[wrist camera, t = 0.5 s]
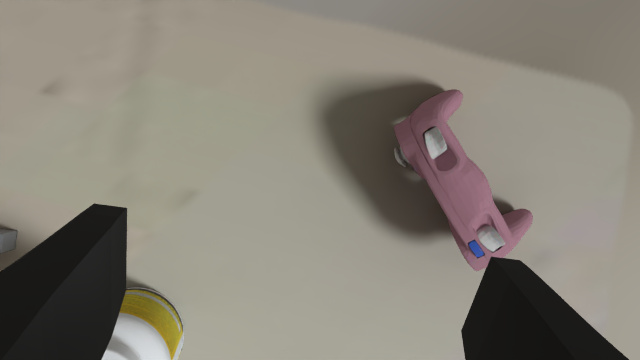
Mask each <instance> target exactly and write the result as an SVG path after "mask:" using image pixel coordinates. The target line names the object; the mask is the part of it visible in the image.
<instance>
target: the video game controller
mask: <svg viewBox="0 0 640 360" xmlns="http://www.w3.org/2000/svg"><path fill="white" fill-rule="evenodd" d="M462 98H463V94H462V93H461V92H460V91H459V90H448V91H444V92H442V93H440V94H438V95H435V96H433V97H431V98H429V99H428V100H426V101H424V102H423V103H422V104H421V105H420V106H419V107H418V108H416V109H415V110H414V111H413V112H412V113H411V114H410V115H409V116H408V117H407V118H406V119H405V120H404V121H402V122H400V123H399V124H397V125H395V126H394V131H395V135H396V137H397V139H398V142H399V144H400V150H399V149H398V148H395V149H394V150H395V151H394V153H395V158H396V160H397V162H398V163H399V164H401V165H403V166H404V167H406V166H407V163H406V161H407V162H408V163H410V164H411V166H412V167H413V168H414V169H415V171H416V172H417V173H418V175H419V176H420V177H421V178H423V179H426V181H427V183H428V185H429V187H430V188H431V190H432V192H433V194H434V195H435V197H436V199H437V201H438V202H439V204H440V206H441V208H442V209H443V211H444V213H445V214H446V216H447V217H448V223H449V226H450V229H451V231H452V234H453V236H454V239H455V241H456V243H457V245H458V247H459V249H460V251H461V253H462V254H463V256H464V258H465V259H466V261H467V262H468V263H469V265H470V266H471V267H472V268H473V269H474V270H475V271H478V270H481V269H483V268H486V267H487V265H488V263H489V260H490V258H491V257H498V258H503V257H504V256H506V255H507V254H508V253H509V252H510V251H511V250H512V249H513V248H514V247H515V245H516V244H517V243H518V242H519V241H520V239H521V238H522V237H523V235H524V234H525V233H526V232H527V230H528V229H529V227H530V226H531V224H532V218H533V216H532V213H531V212H530V211H528V210H526V209H518V210H514V211H512V212H509V213H506V214H503V215H501V213H500V212H499V210H498V208H497V207H496V205H495V203H494V201H493V198H492V192H491V189H490V186H489V183H488V180H487V179H486V177H485V175H484V173H483V172H482V171H481V170H480V169H479V167H478V166H477V165H476V164H475V163H474V162H473V161H471V160H470V159H469V158H468V157H467V155H466V154H465V152H464V150H463V148H462V147H461V145H460V143H459V141H458V140H457V138H456V136H455V135H454V133H453V132H452V131H451V129H450V128H449V126H448V125H447V123H446V122H447V120H448V119H449V117H450V116H451V115H452V114H453V113H454V112H455V111H456V110H457V109H458V108H459V106H460V105H461V102H462Z"/></svg>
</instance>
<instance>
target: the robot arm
mask: <svg viewBox="0 0 640 360" xmlns="http://www.w3.org/2000/svg"><path fill="white" fill-rule="evenodd" d="M126 249H127V208H123V207H115V206H108V205H100V204H93V205H92V206H90V207H89V208H87V209H86V210H85V211H83V212H82V213H80V214H79V215H78V216H76V217H75V218H74V219H73V220H71V221H70V222H69V223H67V224H66V225H65V226H63V227H62V228H61V229H59V230H58V231H57V232H55V233H54V234H53V235H51V236H50V237H49V238H47V239H46V240H45V241H43V242H42V243H41V244H39V245H38V246H36V247H35V248H34V249H32V250H31V251H29V252H28V253H27V254H25V255H24V256H22V257H21V258H20V259H18V260H17V261H15V262H14V263H13V264H11V265H10V266H8V267H7V268H5V269H4V270H2V271H1V272H0V360H102V358H103V355H104V353H105V351H106V349H107V346H108V344H109V342H110V340H111V337H112V334H113V331H114V328H115V325H116V322H117V319H118V316H119V312H120V309H121V306H122V302H123V299H124V296H125V292H126ZM461 332H462V339H463V346H464V353H465V359H466V360H629V359H628V358H626V357H625V356H624V355H623V354H622V353H621V352H620V351H618V350H617V349H616V348H615V347H614V346H613V345H612V344H611V343H609V342H608V341H607V340H606V339H605V338H604V337H603V336H602V335H600V334H599V333H598V332H597V331H596V330H595V329H594V328H593V327H592V326H591V325H590V324H589V323H587V322H586V321H585V320H584V319H583V318H582V317H581V316H580V315H579V314H578V313H577V312H576V311H575V310H574V309H573V308H571V307H570V306H569V305H568V304H567V303H566V302H565V301H564V300H563V299H562V298H561V297H560V296H559V295H558V294H557V293H556V292H555V291H554V290H553V289H552V288H550V287H549V286H548V285H547V284H546V283H545V282H544V281H543V280H542V279H541V278H540V277H539V276H538V275H536V274H535V273H534V272H533V271H532V270H531V269H530V268H529V267H527V266H526V265H525V264H524V263H523V262H521V261H520V260H513V259H506V258H498V257H491V258H490V260H489V263H488V265H487V268H486V270H485V273H484V275H483V278H482V280H481V283H480V285H479V288H478V290H477V293H476V295H475V298H474V300H473V303H472V305H471V308H470V310H469V313H468V315H467V318H466V320H465V323H464V325H463V328H462V330H461Z"/></svg>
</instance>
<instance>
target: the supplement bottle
mask: <svg viewBox="0 0 640 360" xmlns="http://www.w3.org/2000/svg"><path fill="white" fill-rule="evenodd" d="M183 341H184V327H183V322H182V319H181V316H180V314H179V312H178V310H177V308H176V307H175V306H174V304H173V303H172V302H171V301H170V300H169V299H168V298H166V297H165V296H164V295H162V294H160V293H159V292H156V291H154V290H151V289H147V288H137V287H136V288H126V292H125V296H124V299H123V302H122V306H121V309H120V312H119V316H118V319H117V322H116V325H115V328H114V331H113V334H112V337H111V340H110V342H109V344H108V346H107V349H106V351H105V353H104V355H103V358H102V360H178V358H179V356H180V353H181V350H182V345H183Z"/></svg>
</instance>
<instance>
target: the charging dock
mask: <svg viewBox="0 0 640 360" xmlns="http://www.w3.org/2000/svg"><path fill="white" fill-rule="evenodd" d="M16 237H17V231H15V230H6V229H0V253H3V252H6V251H10V250H13V249H15V244H16Z"/></svg>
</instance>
